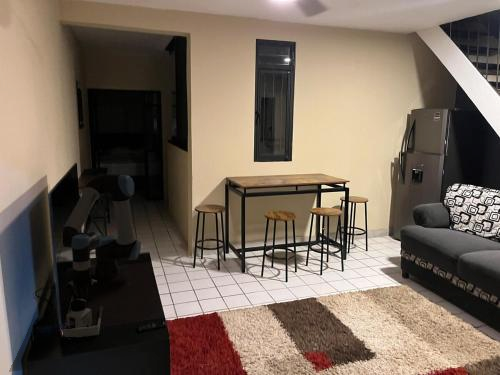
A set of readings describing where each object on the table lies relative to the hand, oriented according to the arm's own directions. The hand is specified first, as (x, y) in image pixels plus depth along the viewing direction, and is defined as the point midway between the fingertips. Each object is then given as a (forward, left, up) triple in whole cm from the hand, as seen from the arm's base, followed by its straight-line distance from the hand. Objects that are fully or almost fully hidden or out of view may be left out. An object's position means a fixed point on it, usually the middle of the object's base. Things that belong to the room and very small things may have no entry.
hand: (84, 314), depth 186 cm
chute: (+2, 0, -3) cm, 4 cm away
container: (+6, -1, -3) cm, 7 cm away
